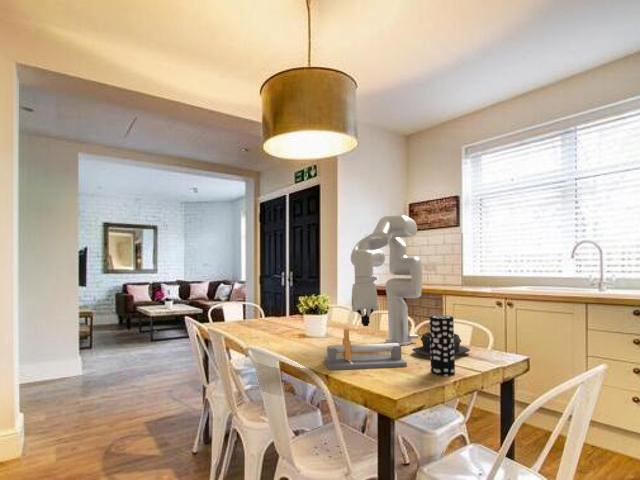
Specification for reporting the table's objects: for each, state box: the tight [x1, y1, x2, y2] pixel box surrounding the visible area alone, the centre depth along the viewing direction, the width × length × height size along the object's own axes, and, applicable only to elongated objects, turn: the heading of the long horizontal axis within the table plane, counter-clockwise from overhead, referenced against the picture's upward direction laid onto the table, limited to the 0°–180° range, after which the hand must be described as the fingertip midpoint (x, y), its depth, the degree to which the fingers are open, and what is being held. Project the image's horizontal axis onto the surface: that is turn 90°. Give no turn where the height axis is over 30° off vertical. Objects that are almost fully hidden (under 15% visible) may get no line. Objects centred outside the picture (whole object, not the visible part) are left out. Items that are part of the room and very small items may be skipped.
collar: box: [342, 328, 352, 360], centre depth 155 cm, size 2×7×11 cm, turn 6°
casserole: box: [412, 331, 471, 356], centre depth 170 cm, size 25×19×8 cm
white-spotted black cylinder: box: [428, 314, 456, 377], centre depth 142 cm, size 8×8×20 cm
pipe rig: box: [324, 342, 408, 371], centre depth 156 cm, size 30×14×8 cm, turn 96°
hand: (365, 325), depth 159 cm, fingers closed
